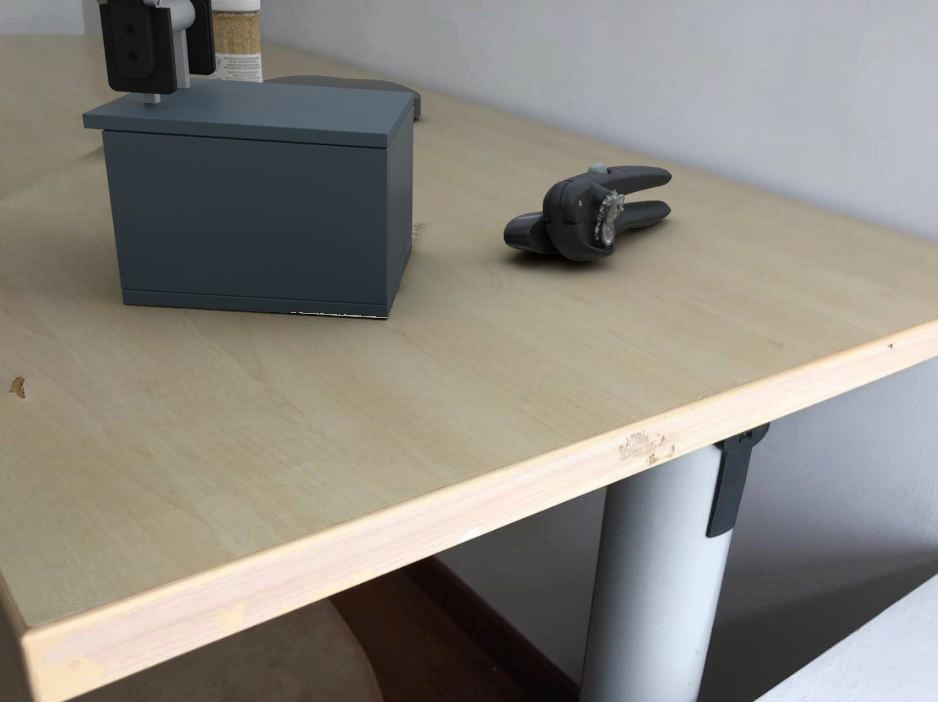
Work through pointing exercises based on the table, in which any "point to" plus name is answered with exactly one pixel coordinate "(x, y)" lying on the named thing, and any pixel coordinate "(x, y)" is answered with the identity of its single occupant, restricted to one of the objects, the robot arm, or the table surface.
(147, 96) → the bin lid
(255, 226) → the bin
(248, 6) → the sprinkles bottle
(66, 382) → the table surface
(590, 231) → the can opener
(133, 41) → the robot arm
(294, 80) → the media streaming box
